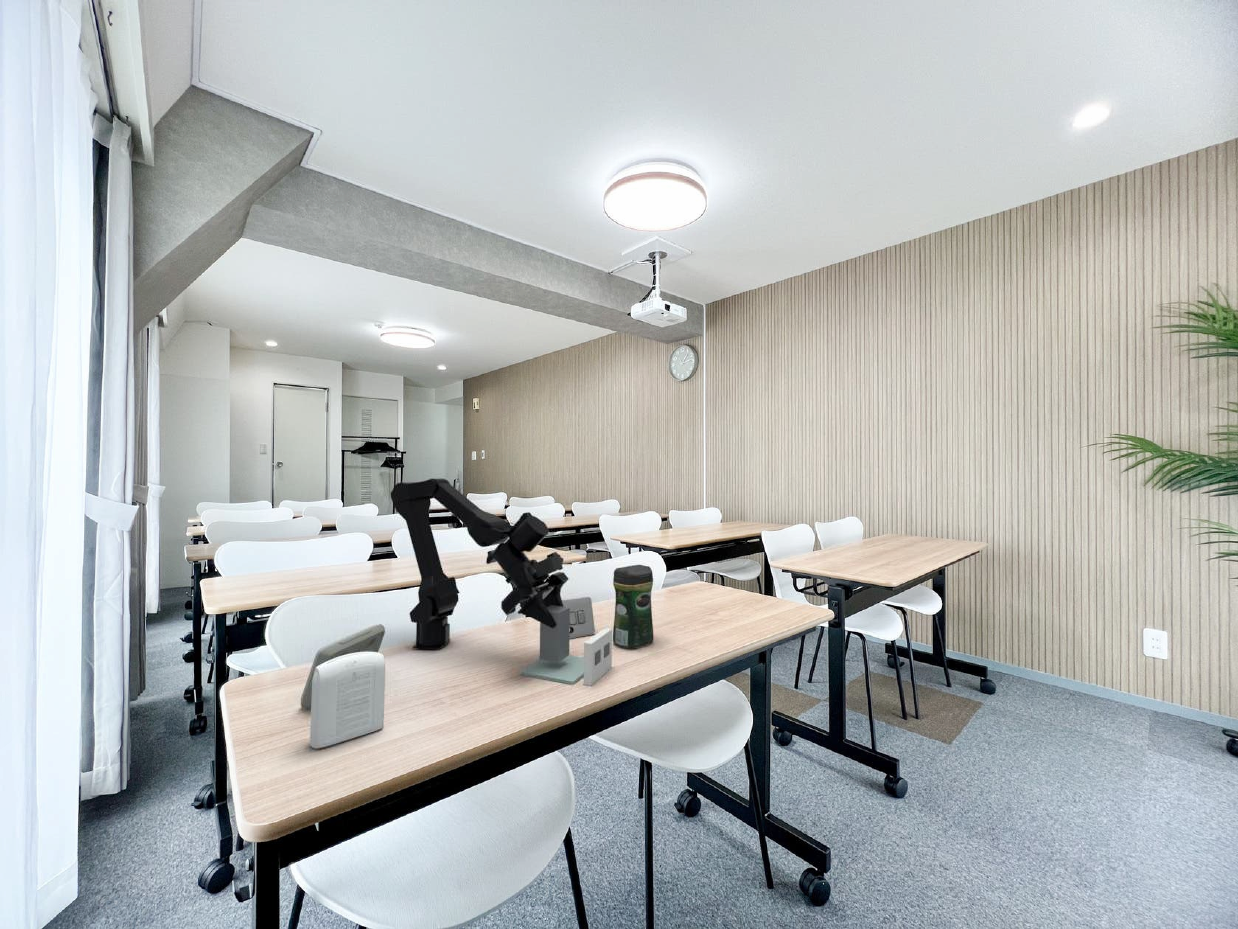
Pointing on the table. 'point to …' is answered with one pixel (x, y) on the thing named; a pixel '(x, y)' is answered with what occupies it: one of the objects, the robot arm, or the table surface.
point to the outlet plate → (597, 656)
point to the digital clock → (344, 653)
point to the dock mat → (557, 670)
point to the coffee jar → (633, 606)
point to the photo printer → (347, 698)
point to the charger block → (555, 635)
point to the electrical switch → (580, 617)
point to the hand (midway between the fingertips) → (560, 623)
